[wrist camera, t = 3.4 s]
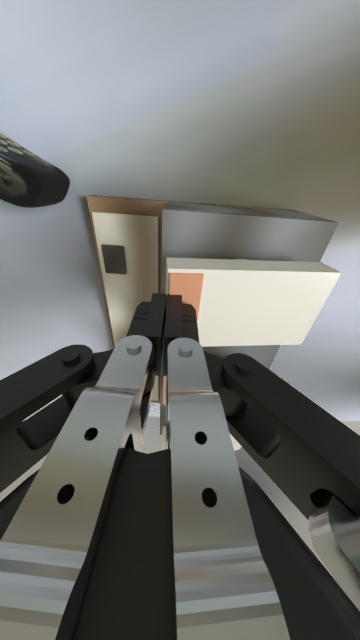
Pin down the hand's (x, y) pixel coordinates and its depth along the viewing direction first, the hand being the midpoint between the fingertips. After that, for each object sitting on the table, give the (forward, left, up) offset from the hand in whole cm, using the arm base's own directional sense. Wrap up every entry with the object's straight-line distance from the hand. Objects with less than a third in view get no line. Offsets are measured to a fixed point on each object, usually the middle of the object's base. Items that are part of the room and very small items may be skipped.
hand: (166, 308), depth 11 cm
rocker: (-4, 0, -3) cm, 5 cm away
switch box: (-1, +9, -9) cm, 12 cm away
